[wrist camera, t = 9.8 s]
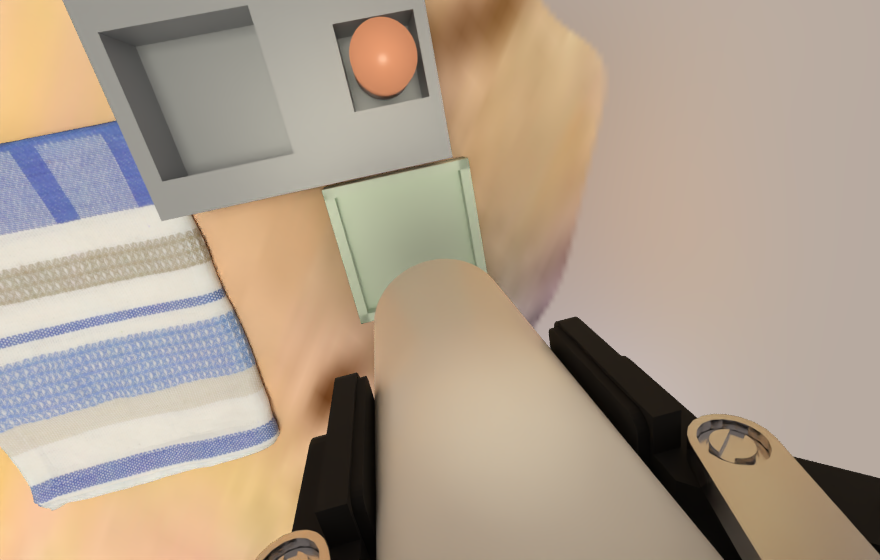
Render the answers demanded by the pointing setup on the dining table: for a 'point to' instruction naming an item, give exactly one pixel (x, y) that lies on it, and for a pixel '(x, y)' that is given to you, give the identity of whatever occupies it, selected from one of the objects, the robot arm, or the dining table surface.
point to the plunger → (382, 57)
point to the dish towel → (112, 328)
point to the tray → (403, 225)
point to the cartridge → (500, 439)
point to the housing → (255, 95)
